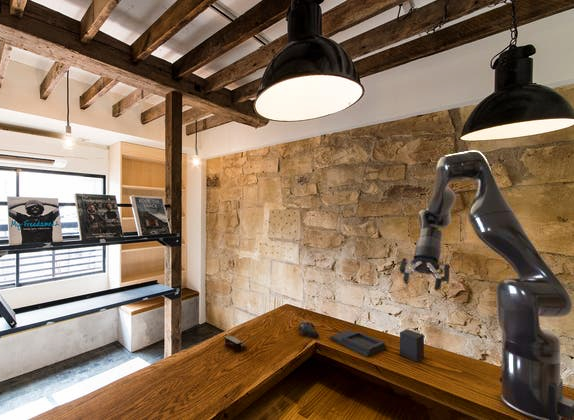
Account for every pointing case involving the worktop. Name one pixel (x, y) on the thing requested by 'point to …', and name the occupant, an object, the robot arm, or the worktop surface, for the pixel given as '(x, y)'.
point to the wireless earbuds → (234, 343)
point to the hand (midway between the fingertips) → (420, 286)
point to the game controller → (308, 329)
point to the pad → (359, 342)
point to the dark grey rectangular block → (412, 345)
